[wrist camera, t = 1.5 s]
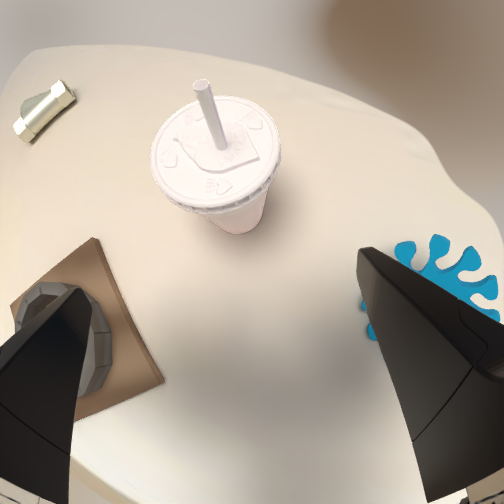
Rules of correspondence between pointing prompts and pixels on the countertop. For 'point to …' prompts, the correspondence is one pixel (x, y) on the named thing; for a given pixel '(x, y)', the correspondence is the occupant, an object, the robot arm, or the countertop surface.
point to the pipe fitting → (42, 110)
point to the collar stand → (96, 330)
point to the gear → (449, 274)
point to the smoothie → (217, 158)
